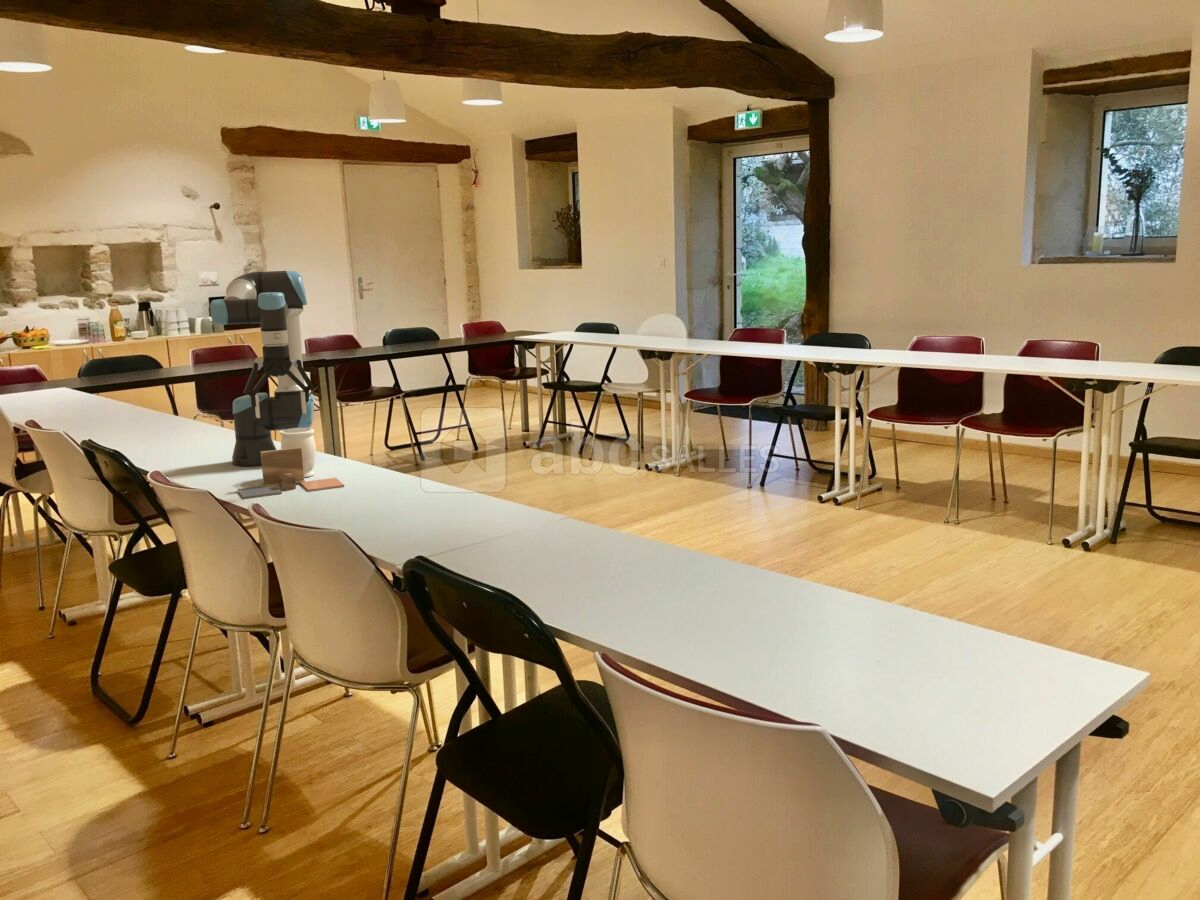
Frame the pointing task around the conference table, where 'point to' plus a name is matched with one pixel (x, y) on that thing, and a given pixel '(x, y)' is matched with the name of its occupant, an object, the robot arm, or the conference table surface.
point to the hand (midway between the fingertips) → (281, 415)
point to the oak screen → (281, 465)
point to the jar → (303, 440)
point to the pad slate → (258, 491)
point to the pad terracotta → (322, 484)
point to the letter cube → (287, 481)
